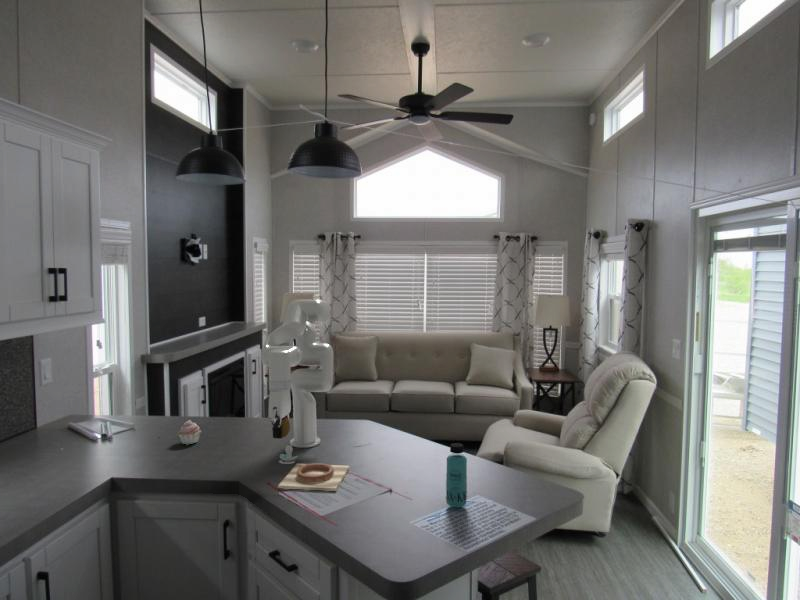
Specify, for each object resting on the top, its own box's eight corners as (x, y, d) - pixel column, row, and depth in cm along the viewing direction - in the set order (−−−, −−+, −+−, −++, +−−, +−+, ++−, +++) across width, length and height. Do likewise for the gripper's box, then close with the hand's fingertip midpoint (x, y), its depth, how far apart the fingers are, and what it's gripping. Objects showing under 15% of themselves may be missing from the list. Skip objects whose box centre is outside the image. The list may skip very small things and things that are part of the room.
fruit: (274, 441, 187) (273, 419, 186) (270, 436, 192) (270, 414, 192) (292, 439, 189) (291, 416, 189) (287, 434, 195) (287, 412, 194)
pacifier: (293, 466, 203) (300, 459, 209) (292, 450, 202) (299, 444, 208) (275, 464, 205) (282, 458, 210) (275, 448, 204) (282, 442, 210)
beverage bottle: (444, 503, 170) (444, 441, 168) (465, 502, 170) (465, 440, 169) (447, 512, 163) (447, 448, 162) (469, 511, 164) (469, 447, 162)
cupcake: (206, 441, 231) (205, 418, 230) (187, 448, 223) (186, 424, 222) (192, 438, 236) (191, 415, 235) (173, 444, 228) (172, 420, 227)
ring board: (297, 466, 201) (296, 458, 201) (349, 468, 199) (349, 460, 198) (278, 488, 182) (278, 479, 181) (336, 491, 179) (336, 482, 179)
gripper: (279, 379, 199) (280, 427, 200) (259, 390, 182) (261, 442, 183) (298, 379, 197) (299, 427, 199) (281, 391, 180) (282, 443, 182)
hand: (281, 434), depth 191 cm, fingers closed on fruit, 6 cm apart
